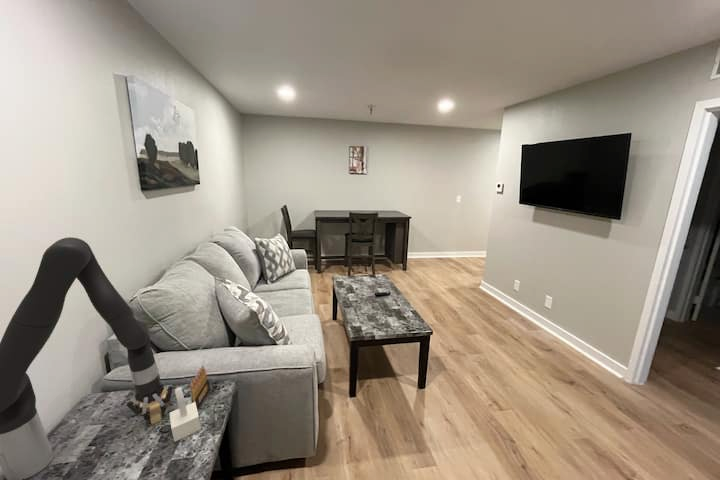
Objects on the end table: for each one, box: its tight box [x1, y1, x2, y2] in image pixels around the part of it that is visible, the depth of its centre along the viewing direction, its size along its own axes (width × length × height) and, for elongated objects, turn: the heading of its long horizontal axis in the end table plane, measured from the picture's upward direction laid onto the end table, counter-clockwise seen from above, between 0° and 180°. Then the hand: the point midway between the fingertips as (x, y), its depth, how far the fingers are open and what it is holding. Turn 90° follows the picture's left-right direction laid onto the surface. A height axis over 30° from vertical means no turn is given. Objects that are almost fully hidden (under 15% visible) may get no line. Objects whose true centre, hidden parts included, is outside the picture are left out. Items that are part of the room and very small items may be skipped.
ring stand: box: [169, 386, 202, 443], centre depth 103 cm, size 8×8×16 cm
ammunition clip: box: [189, 365, 211, 411], centre depth 115 cm, size 11×2×12 cm, turn 2°
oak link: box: [139, 390, 171, 425], centre depth 113 cm, size 16×9×2 cm, turn 36°
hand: (155, 415), depth 109 cm, fingers open, 4 cm apart
